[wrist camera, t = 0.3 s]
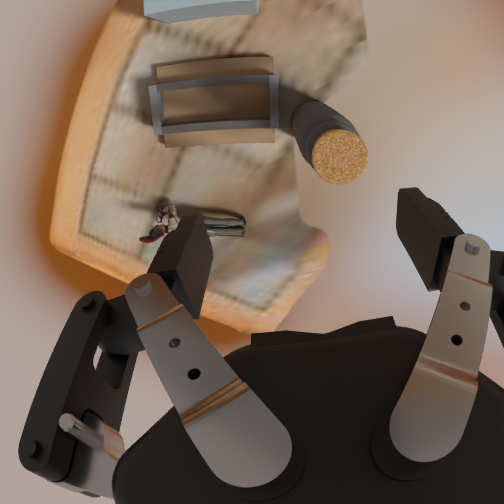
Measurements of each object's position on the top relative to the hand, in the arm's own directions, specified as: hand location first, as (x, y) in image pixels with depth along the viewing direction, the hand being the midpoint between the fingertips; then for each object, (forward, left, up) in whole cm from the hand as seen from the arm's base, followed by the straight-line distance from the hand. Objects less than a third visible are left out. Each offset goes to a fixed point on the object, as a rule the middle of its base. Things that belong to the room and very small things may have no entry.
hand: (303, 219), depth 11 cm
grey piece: (-2, -8, -27) cm, 28 cm away
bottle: (+1, +4, -27) cm, 28 cm away
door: (-15, -8, -27) cm, 32 cm away
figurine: (+15, -12, -28) cm, 34 cm away
